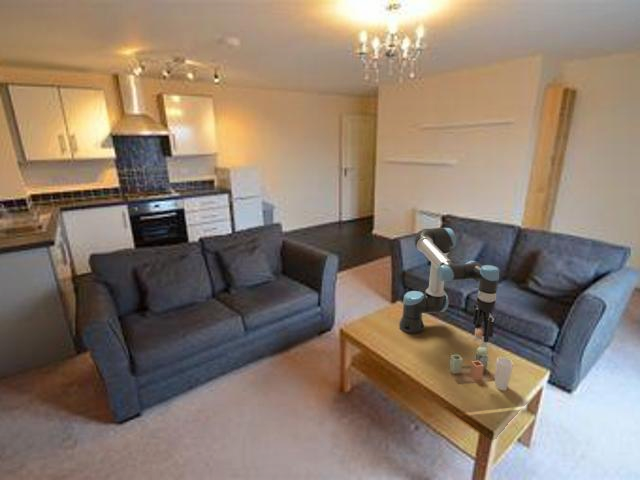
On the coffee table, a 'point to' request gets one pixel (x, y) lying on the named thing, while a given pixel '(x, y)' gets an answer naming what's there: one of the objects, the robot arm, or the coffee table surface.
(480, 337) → the terracotta ball
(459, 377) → the board
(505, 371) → the drinking glass
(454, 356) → the sage tube
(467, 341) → the coffee table surface
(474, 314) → the robot arm
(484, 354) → the sage ball
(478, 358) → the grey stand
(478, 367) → the terracotta tube
